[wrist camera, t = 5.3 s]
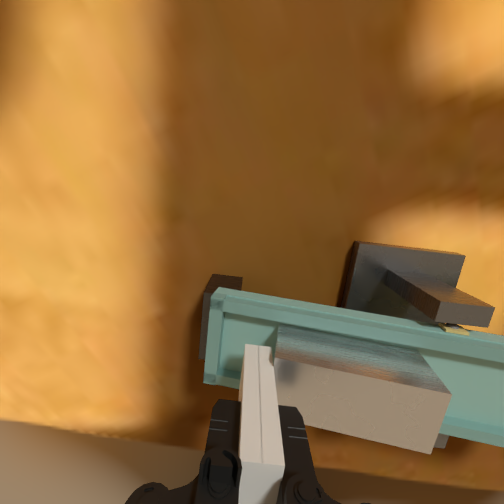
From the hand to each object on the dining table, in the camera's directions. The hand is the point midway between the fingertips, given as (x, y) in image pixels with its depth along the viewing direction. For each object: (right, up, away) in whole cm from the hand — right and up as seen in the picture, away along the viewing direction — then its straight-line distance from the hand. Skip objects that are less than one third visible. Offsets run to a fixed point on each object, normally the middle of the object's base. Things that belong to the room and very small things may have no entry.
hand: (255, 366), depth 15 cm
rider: (+5, 0, +1) cm, 5 cm away
